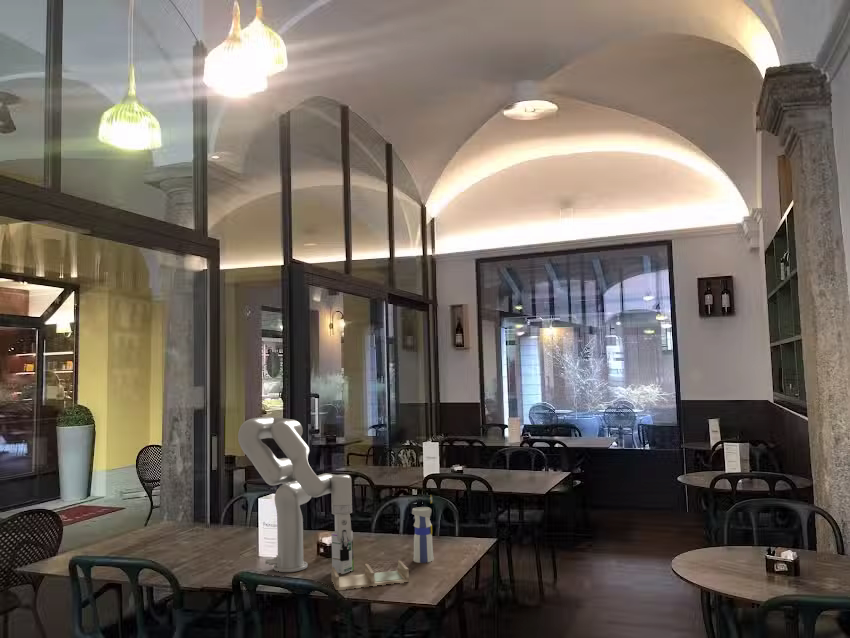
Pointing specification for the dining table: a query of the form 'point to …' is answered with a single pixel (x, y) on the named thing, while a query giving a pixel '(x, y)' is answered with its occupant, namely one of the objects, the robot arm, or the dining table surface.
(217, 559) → the dining table surface
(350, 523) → the robot arm
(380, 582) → the slot rack
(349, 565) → the syrup box
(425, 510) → the water bottle
